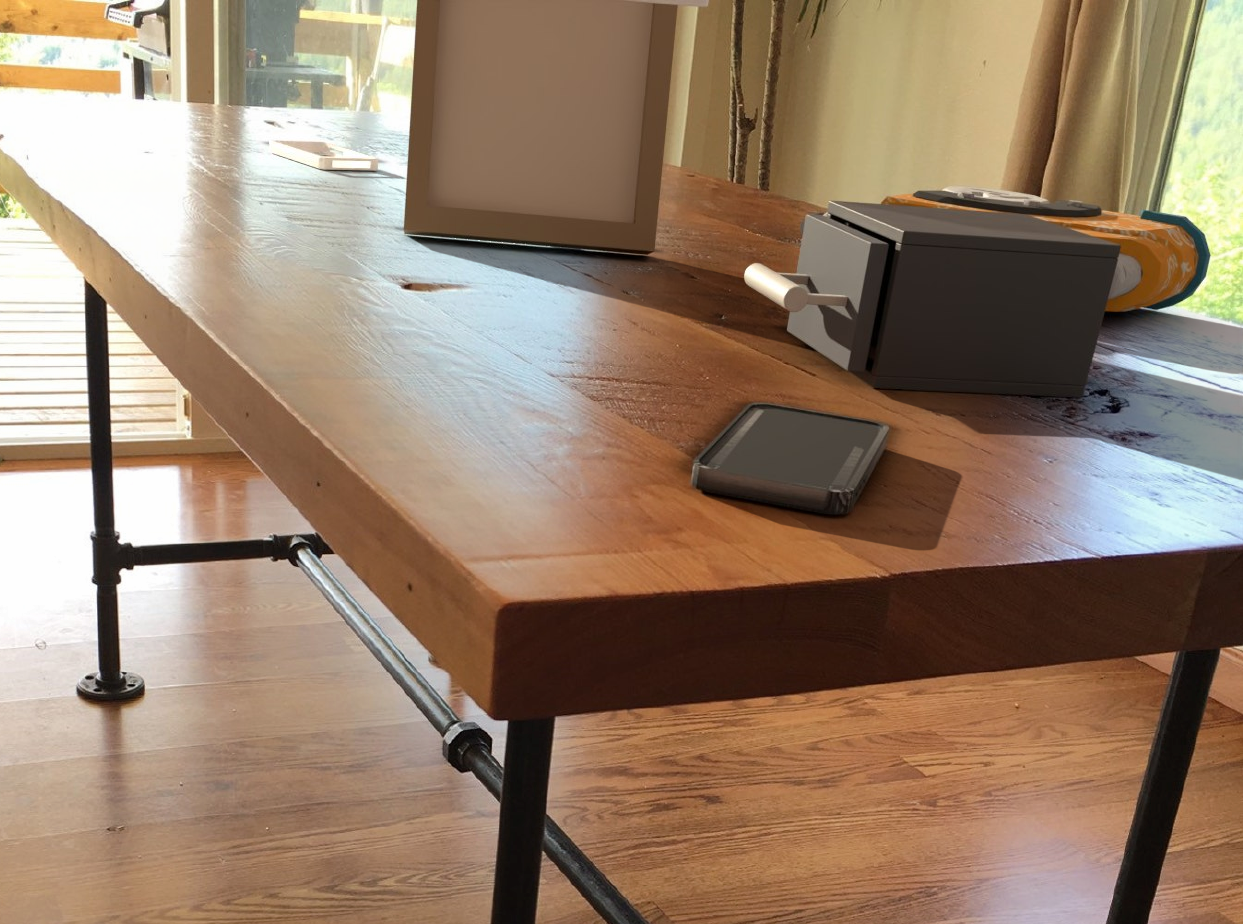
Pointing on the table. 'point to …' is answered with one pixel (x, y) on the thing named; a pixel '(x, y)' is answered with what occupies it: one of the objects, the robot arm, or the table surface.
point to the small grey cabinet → (985, 301)
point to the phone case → (310, 151)
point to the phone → (792, 458)
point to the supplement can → (677, 2)
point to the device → (1150, 244)
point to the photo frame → (539, 122)
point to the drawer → (833, 289)
